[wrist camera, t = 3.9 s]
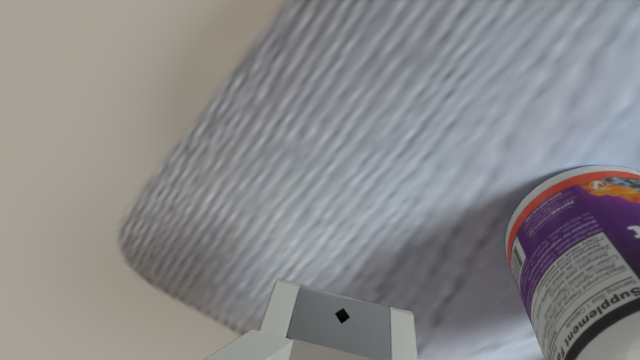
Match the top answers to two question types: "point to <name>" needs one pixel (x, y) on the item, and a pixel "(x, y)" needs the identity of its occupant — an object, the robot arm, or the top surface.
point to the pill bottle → (580, 263)
